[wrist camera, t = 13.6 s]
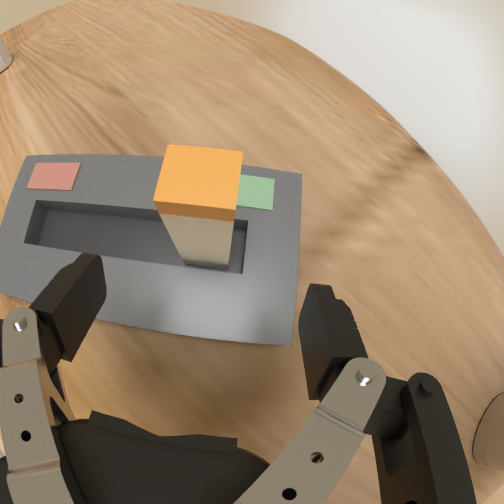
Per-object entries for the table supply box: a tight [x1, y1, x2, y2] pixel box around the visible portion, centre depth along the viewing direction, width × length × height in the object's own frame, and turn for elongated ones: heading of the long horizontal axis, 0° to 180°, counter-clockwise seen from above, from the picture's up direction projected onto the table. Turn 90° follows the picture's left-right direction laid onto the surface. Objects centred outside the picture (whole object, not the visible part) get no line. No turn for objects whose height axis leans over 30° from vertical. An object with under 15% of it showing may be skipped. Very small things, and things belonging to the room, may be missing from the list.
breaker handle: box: [153, 144, 243, 269], centre depth 15 cm, size 3×2×10 cm
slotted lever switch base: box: [0, 154, 302, 346], centre depth 19 cm, size 24×12×3 cm, turn 84°
